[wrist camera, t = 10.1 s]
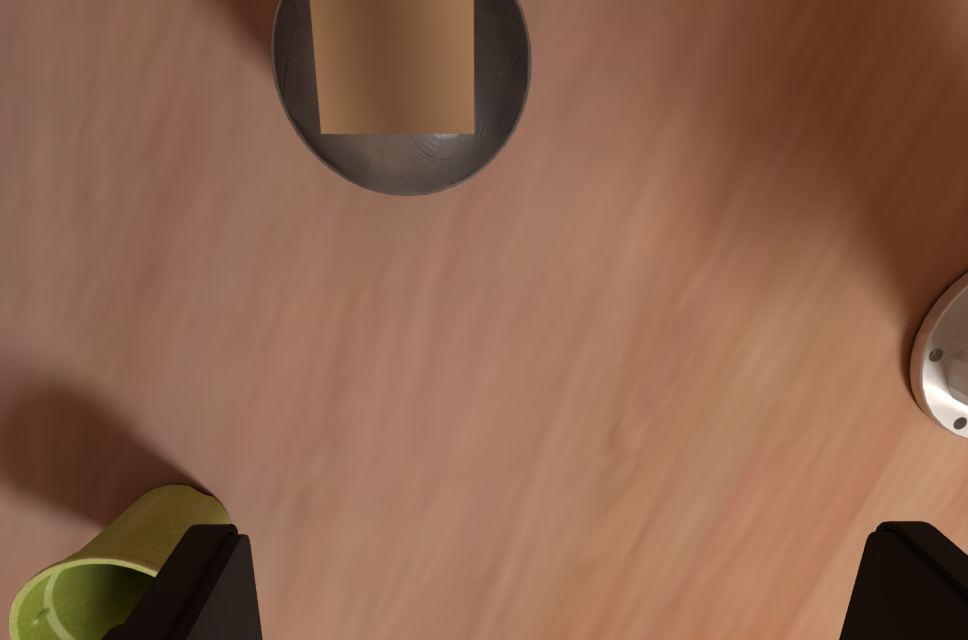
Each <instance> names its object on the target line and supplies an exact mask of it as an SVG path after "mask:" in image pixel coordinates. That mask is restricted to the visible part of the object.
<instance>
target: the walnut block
mask: <svg viewBox="0 0 968 640" xmlns="http://www.w3.org/2000/svg"><path fill="white" fill-rule="evenodd" d="M310 9H311V20H312V32H313V44H314V56H315V67H316V79H317V91H318V103H319V115H320V126H321V134H474V0H310Z"/></svg>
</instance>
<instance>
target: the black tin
mask: <svg viewBox="0 0 968 640" xmlns="http://www.w3.org/2000/svg"><path fill="white" fill-rule="evenodd" d="M271 59H272V70H273V75H274V80H275V85H276V89H277V92H278V95H279V98H280V102H281V104H282V106H283V109H284V111H285V113H286V115H287V118H288V120H289V121H290V123H291V125H292V126H293V128H294V130H295V131H296V133H297V135H298V136H299V137H300V139H301V140H302V141H303V143H304V144H305V145H306V146H307V148H308V149H309V150H310V151H311V152H312V153H313V154H314V155H315V156H316V157H317V158H318V159H319V160H320V161H321V162H322V163H323V164H325V165H326V166H327V167H328V168H330V169H331V170H332V171H333V172H335V173H336V174H338V175H340V176H341V177H343V178H344V179H346V180H348V181H350V182H352V183H354V184H356V185H358V186H361V187H363V188H366V189H369V190H372V191H375V192H379V193H384V194H390V195H399V196H416V195H427V194H431V193H436V192H440V191H443V190H446V189H449V188H451V187H454V186H457V185H458V184H460V183H462V182H464V181H466V180H468V179H470V178H471V177H473V176H474V175H475V174H477V173H478V172H480V171H481V170H482V169H484V168H485V167H486V166H487V165H488V164H489V163H490V162H491V161H492V160H493V159H494V158H495V157H496V156H497V155H498V154H499V152H500V151H501V150H502V149H503V148H504V146H505V145H506V144H507V142H508V140H509V139H510V137H511V136H512V134H513V132H514V131H515V129H516V127H517V124H518V122H519V120H520V118H521V116H522V113H523V110H524V107H525V103H526V100H527V96H528V91H529V86H530V79H531V64H532V63H531V45H530V39H529V33H528V27H527V24H526V20H525V17H524V14H523V10H522V8H521V5H520V3H519V1H518V0H474V134H321V126H320V115H319V103H318V91H317V79H316V67H315V56H314V44H313V32H312V20H311V9H310V0H279V2H278V5H277V8H276V11H275V16H274V21H273V26H272V37H271Z"/></svg>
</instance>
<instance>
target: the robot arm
mask: <svg viewBox="0 0 968 640" xmlns="http://www.w3.org/2000/svg"><path fill="white" fill-rule="evenodd" d="M910 379H911V387H912V391H913V393H914V396H915V398H916V401H917V403H918V405H919V406H920V407H921V409H922V410H923V412H924V413H925V415H926V416H928V417H929V418H930V419H931V420H932V421H934V422H935V423H936V424H937V425H939V426H940V427H942V428H944V429H945V430H947V431H949V432H950V433H952V434H954V435H957V436H960V437H962V438H965V439H968V272H967V273H966V274H965V275H964V276H962V277H961V278H960V279H959V280H957V281H956V282H955V283H954V284H952V285H951V286H950V288H949V289H948V290H947V291H946V292H945V293H944V294H943V295H942V296H941V297H940V298H939V299H938V300H937V302H936V303H935V305H934V306H933V308H932V309H931V310H930V312H929V313H928V315H927V316H926V318H925V319H924V322H923V324H922V326H921V328H920V330H919V332H918V334H917V336H916V339H915V343H914V346H913V350H912V354H911V362H910ZM101 640H263V639H262V631H261V623H260V616H259V608H258V600H257V592H256V585H255V577H254V569H253V561H252V553H251V546H250V540H249V537H248V535H245V534H238V530H237V528H236V526H235V525H233V524H194V525H192V526H190V527H189V529H188V530H187V531H186V532H185V534H184V535H183V537H182V538H181V540H180V541H179V542H178V544H177V545H176V547H175V548H174V550H173V551H172V553H171V554H170V556H169V557H168V559H167V560H166V562H165V563H164V565H163V566H162V567H161V569H160V570H159V572H158V573H157V575H156V576H155V578H154V579H153V581H152V582H151V584H150V585H149V587H148V588H147V590H146V591H145V592H144V594H143V595H142V597H141V598H140V600H139V601H138V603H137V604H136V606H135V607H134V609H133V610H132V612H131V613H130V615H129V616H128V617H127V619H126V620H125V622H124V623H123V624H118V625H116V626H114V627H113V628H111V629H110V630H109V631H108V632H107V633H106V634H105V635H104V636H103V638H102V639H101ZM839 640H968V555H967V554H965V553H964V552H963V551H962V550H961V549H960V548H958V547H957V546H956V545H955V544H954V543H953V542H951V541H950V540H949V539H948V538H947V537H946V536H944V535H943V534H942V533H941V532H940V531H939V530H937V529H936V528H935V527H934V526H932V525H931V524H929V523H926V522H922V521H887V522H882V523H881V524H880V525H879V526H878V527H877V529H876V531H875V532H872V533H871V534H869V536H868V538H867V540H866V544H865V548H864V551H863V555H862V559H861V562H860V566H859V570H858V573H857V577H856V580H855V584H854V588H853V591H852V595H851V599H850V602H849V606H848V610H847V613H846V617H845V620H844V624H843V628H842V631H841V635H840V639H839Z"/></svg>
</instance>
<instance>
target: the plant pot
mask: <svg viewBox="0 0 968 640" xmlns="http://www.w3.org/2000/svg"><path fill="white" fill-rule="evenodd" d="M194 524H230V520H229V517H228V514H227V512H226V511H225V509H224V508H223V506H222V505H221V504H220V503H219V502H218V501H217V500H216V499H215V498H214V497H212V496H208V495H205V494H203V493H200V492H198V491H196V490H195V489H193V488H192V487H190V486H186V485H166V486H161V487H158V488H155V489H152V490H150V491H148V492H147V493H145V494H144V495H142V496H141V497H140V498H139V499H138V500H137V501H136V502H134V503H133V504H132V505H131V506H130V507H129V508H128V509H127V510H126V511H124V512H123V513H122V514H121V515H120V516H119V517H118V518H117V519H115V520H114V521H113V522H112V523H111V524H110V525H109V526H107V527H106V528H105V529H104V530H103V531H102V532H101V533H100V534H98V535H97V536H96V537H95V538H94V539H93V540H92V541H91V542H89V543H88V544H87V545H86V546H85V547H84V548H82V549H81V550H80V551H78V552H76V553H74V554H72V555H71V556H69V557H67V558H66V559H65V560H62V561H60V562H57V563H54V564H52V565H50V566H49V567H47V568H45V569H43V570H41V571H40V572H39V573H37V574H36V575H35V576H33V577H32V578H31V579H30V580H29V581H28V582H27V583H26V584H25V585H24V586H23V587H22V588H21V590H20V591H19V593H18V594H17V596H16V597H15V599H14V601H13V604H12V606H11V609H10V613H9V632H10V637H11V640H101V639H102V638H103V636H104V635H105V634H106V633H107V632H108V631H109V630H110V629H111V628H113V627H114V626H116V625H118V624H123V623H124V622H125V620H126V619H127V617H128V616H129V615H130V613H131V612H132V610H133V609H134V607H135V606H136V604H137V603H138V601H139V600H140V598H141V597H142V595H143V594H144V592H145V591H146V590H147V588H148V587H149V585H150V584H151V582H152V581H153V579H154V578H155V576H156V575H157V573H158V572H159V570H160V569H161V567H162V566H163V565H164V563H165V562H166V560H167V559H168V557H169V556H170V554H171V553H172V551H173V550H174V548H175V547H176V545H177V544H178V542H179V541H180V540H181V538H182V537H183V535H184V534H185V532H186V531H187V530H188V529H189V527H190V526H192V525H194Z"/></svg>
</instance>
